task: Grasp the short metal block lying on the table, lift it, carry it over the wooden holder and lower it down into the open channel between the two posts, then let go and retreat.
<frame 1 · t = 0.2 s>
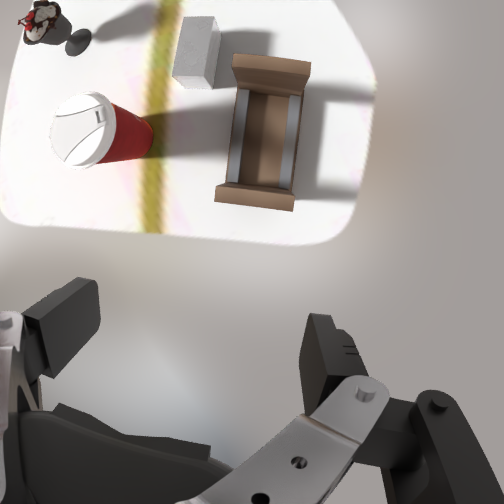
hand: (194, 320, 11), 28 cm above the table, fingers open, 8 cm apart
sundae: (78, 42, 32), on the table
metal block: (203, 61, 33), on the table
paper cup: (134, 138, 36), on the table
wooden holder: (264, 140, 36), on the table
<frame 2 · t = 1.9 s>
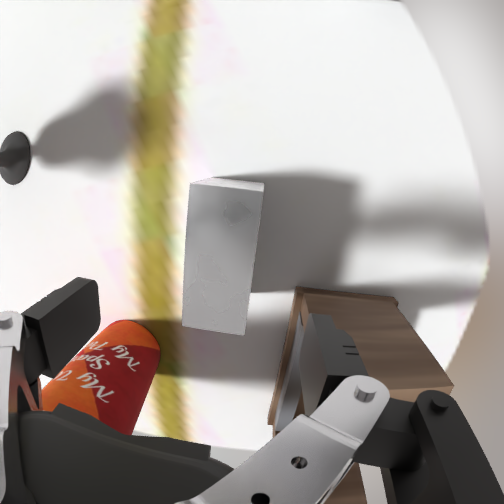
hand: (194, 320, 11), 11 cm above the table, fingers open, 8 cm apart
sundae: (15, 158, 21), on the table
metal block: (231, 237, 22), on the table
paper cup: (132, 345, 25), on the table
wooden holder: (326, 366, 24), on the table
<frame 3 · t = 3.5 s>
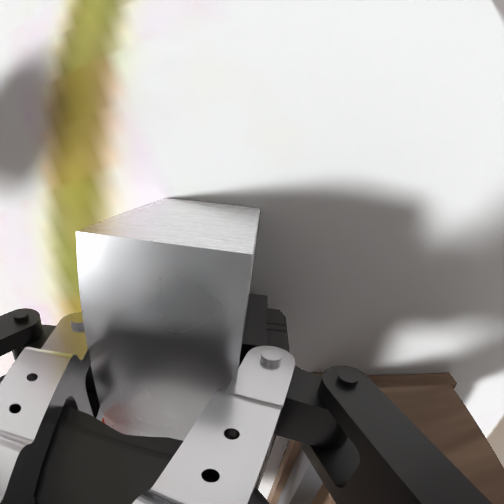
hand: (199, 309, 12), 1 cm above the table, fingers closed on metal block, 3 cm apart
metal block: (203, 301, 12), on the table, touching gripper
wooden holder: (346, 458, 15), on the table
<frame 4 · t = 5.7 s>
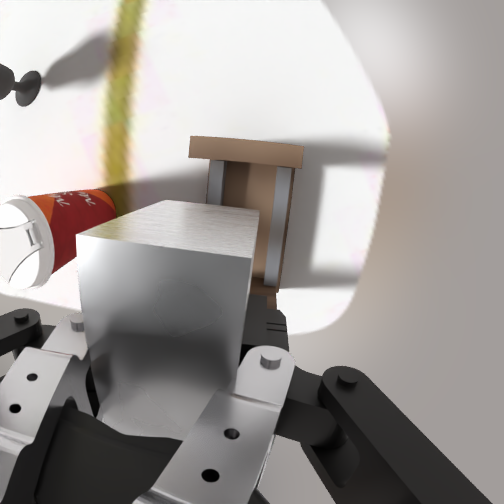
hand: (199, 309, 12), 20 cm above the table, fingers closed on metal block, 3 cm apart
sundae: (29, 88, 27), on the table
metal block: (203, 302, 12), point 19 cm above the table, touching gripper
paper cup: (96, 213, 31), on the table
wooden holder: (246, 219, 30), on the table
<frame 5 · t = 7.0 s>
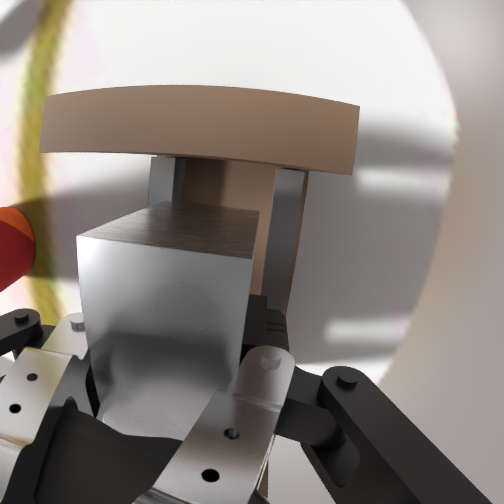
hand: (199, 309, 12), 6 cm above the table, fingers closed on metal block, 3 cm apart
metal block: (203, 303, 12), point 6 cm above the table, touching gripper
paper cup: (14, 241, 18), on the table
wooden holder: (222, 259, 18), on the table
when the fingers open (3 cm above the table, at t = 8.0 s): metal block drops 1 cm, resting on wooden holder.
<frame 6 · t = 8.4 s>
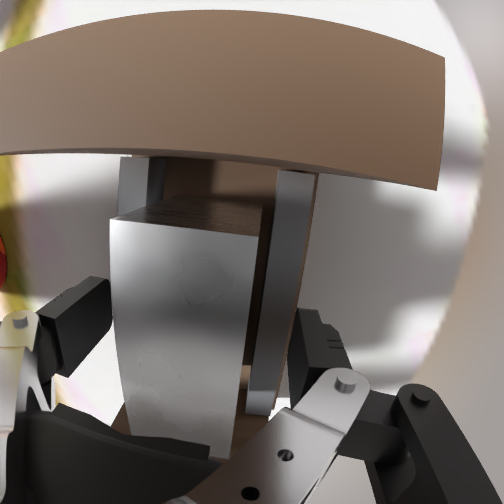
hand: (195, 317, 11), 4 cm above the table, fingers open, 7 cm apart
metal block: (211, 288, 14), point 1 cm above the table, touching wooden holder
wooden holder: (212, 280, 15), on the table
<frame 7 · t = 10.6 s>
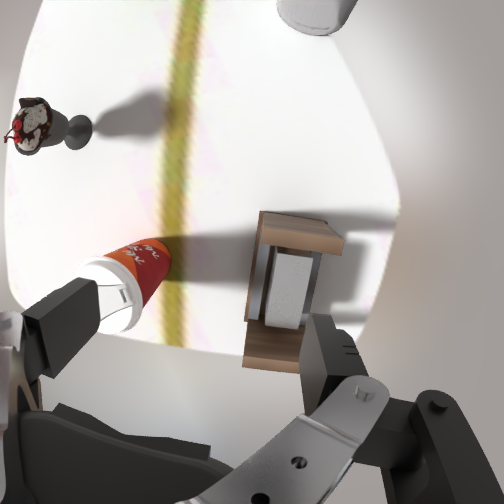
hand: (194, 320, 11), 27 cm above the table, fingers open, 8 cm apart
sundae: (78, 132, 35), on the table
metal block: (285, 274, 37), point 1 cm above the table, touching wooden holder
paper cup: (151, 259, 38), on the table
wooden holder: (283, 272, 38), on the table
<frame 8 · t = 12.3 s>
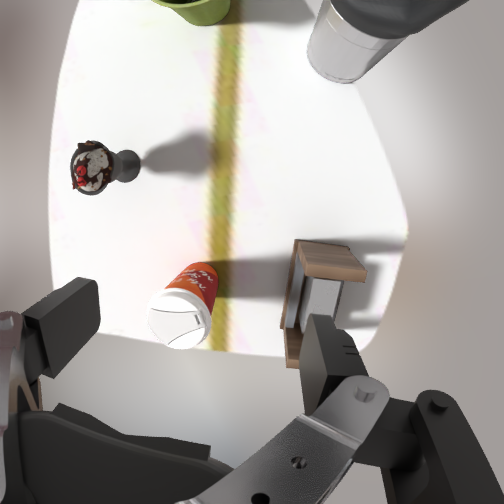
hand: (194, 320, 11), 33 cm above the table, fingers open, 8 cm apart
sundae: (126, 166, 42), on the table
metal block: (314, 290, 44), point 1 cm above the table, touching wooden holder
paper cup: (200, 279, 46), on the table
wooden holder: (313, 288, 45), on the table
plant pot: (207, 9, 35), on the table
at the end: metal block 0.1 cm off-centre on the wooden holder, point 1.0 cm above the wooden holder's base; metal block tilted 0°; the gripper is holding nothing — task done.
